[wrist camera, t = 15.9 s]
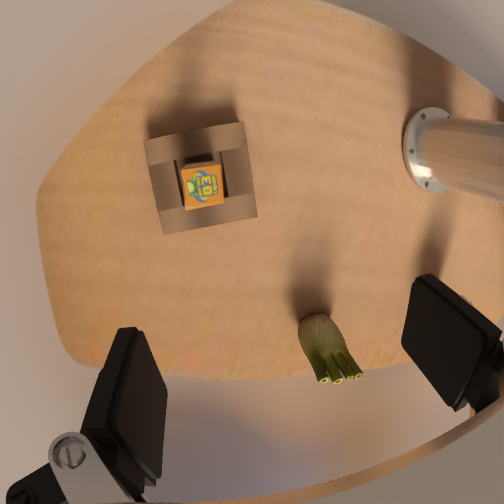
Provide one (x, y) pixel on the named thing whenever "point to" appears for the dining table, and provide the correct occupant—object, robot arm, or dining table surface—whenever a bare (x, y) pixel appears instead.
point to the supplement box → (202, 184)
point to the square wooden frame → (199, 150)
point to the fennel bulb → (326, 349)
